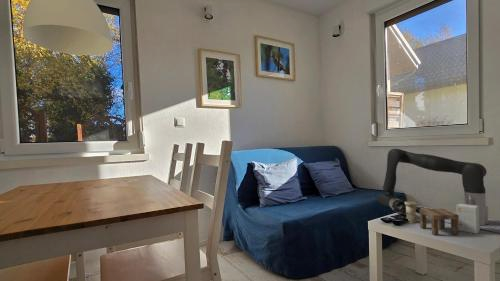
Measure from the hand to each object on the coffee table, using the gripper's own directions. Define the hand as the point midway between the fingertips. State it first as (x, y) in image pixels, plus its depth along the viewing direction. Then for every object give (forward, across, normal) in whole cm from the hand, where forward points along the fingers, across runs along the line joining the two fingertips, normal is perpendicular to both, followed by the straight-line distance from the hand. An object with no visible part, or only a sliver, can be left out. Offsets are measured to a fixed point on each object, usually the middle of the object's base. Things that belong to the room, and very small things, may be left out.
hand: (412, 212), depth 152 cm
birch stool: (-2, 0, +6) cm, 6 cm away
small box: (+14, +20, +6) cm, 25 cm away
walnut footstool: (+14, +5, +6) cm, 16 cm away
